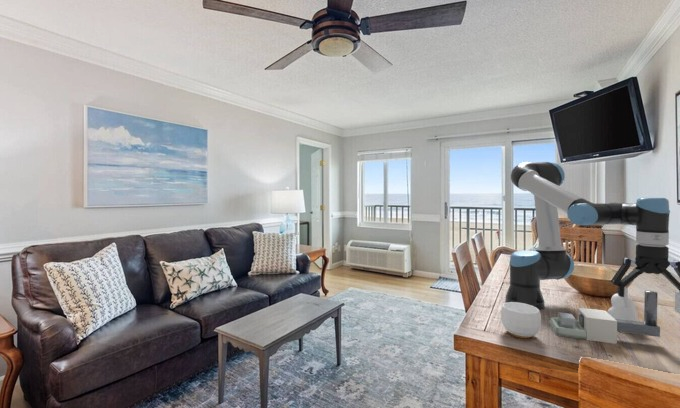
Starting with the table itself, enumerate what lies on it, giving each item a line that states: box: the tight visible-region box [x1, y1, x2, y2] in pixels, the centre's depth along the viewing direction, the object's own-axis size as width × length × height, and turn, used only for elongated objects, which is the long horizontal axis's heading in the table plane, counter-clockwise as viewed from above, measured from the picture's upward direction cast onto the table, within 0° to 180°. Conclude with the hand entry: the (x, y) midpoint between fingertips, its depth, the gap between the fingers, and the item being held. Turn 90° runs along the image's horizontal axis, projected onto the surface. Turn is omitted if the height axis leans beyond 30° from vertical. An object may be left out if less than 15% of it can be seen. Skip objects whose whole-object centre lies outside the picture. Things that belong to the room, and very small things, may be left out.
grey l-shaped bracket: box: [579, 289, 661, 338], centre depth 104 cm, size 20×3×14 cm, turn 66°
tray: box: [549, 316, 586, 341], centre depth 110 cm, size 8×10×3 cm
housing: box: [577, 307, 618, 345], centre depth 107 cm, size 8×10×8 cm
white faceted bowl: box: [500, 302, 542, 339], centre depth 108 cm, size 12×12×10 cm
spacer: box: [557, 311, 576, 329], centre depth 110 cm, size 5×5×4 cm
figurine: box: [607, 292, 638, 321], centre depth 114 cm, size 7×8×12 cm
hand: (650, 309), depth 101 cm, fingers open, 13 cm apart
